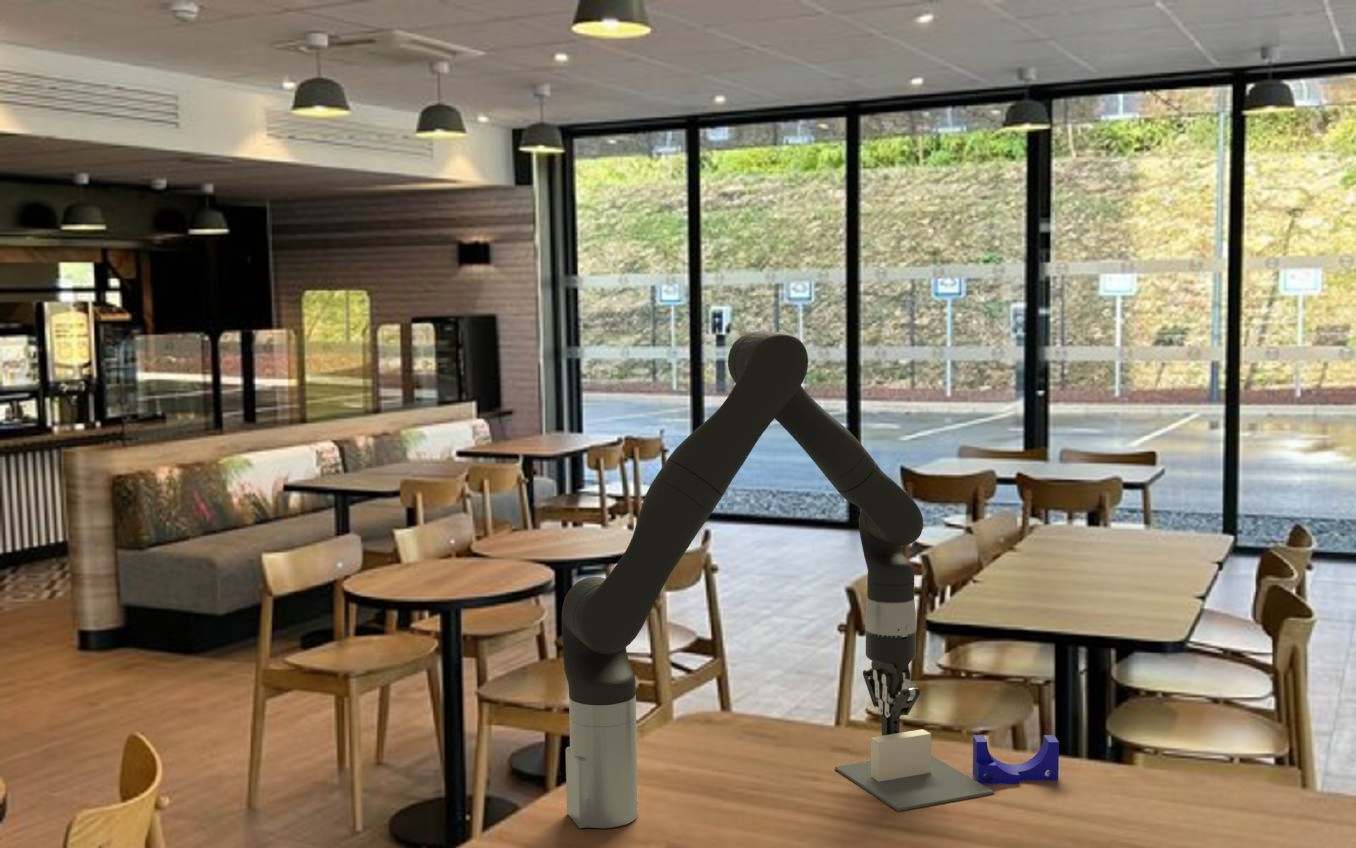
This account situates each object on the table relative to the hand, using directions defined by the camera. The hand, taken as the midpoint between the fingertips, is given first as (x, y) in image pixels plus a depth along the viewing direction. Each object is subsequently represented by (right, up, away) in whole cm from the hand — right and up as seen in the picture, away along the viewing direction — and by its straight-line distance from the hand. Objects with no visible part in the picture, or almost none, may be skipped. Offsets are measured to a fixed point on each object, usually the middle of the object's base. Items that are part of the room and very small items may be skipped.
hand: (890, 739), depth 200 cm
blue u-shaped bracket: (+18, -5, -5) cm, 19 cm away
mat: (+2, -5, -5) cm, 8 cm away
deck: (+1, -4, -4) cm, 6 cm away
